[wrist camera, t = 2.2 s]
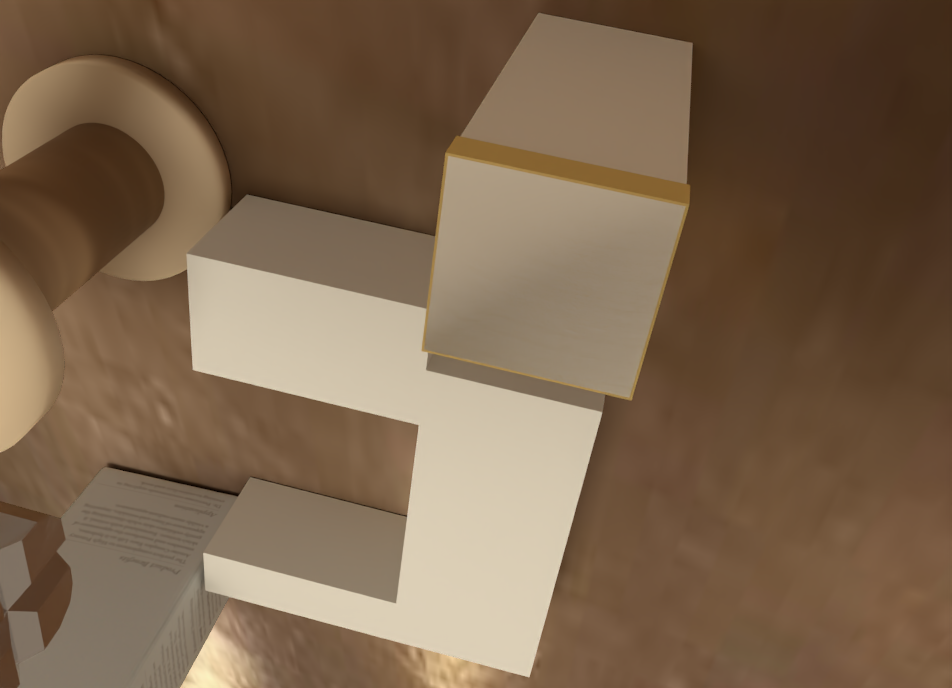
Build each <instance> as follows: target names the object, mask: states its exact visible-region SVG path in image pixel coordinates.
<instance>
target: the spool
mask: <svg viewBox="0 0 952 688" xmlns="http://www.w3.org/2000/svg"><path fill="white" fill-rule="evenodd" d="M2 147H3V156H4V160H5V165H6V167H5V168H3V169H1V170H0V452H2V451H4V450H6V449H8V448H10V447H12V446H13V445H14V444H15V443H17V442H18V441H19V440H20V439H21V438H22V437H23V436H24V435H25V434H26V433H27V432H28V431H29V430H30V429H31V428H32V427H33V426H34V425H35V424H36V423H37V422H38V421H39V420H40V419H41V418H42V417H43V416H44V415H45V414H46V413H47V412H48V411H49V410H50V408H51V407H52V406H53V404H54V403H55V401H56V399H57V397H58V395H59V393H60V391H61V387H62V383H63V379H64V368H65V361H64V348H63V344H62V340H61V335H60V331H59V328H58V326H57V323H56V320H55V317H54V314H53V312H52V311H53V310H55V309H56V308H57V307H58V306H59V305H60V304H61V303H63V302H64V301H65V300H66V299H67V298H68V297H70V296H71V295H72V294H73V293H74V292H75V291H77V290H78V289H79V288H80V287H81V286H82V285H83V284H85V283H86V282H87V281H88V280H89V279H90V278H92V277H93V276H94V275H95V274H96V273H97V272H99V271H100V272H102V273H105V274H107V275H111V276H114V277H118V278H122V279H127V280H134V281H153V280H160V279H165V278H169V277H172V276H174V275H177V274H179V273H181V272H183V271H184V270H186V269H187V256H186V253H187V252H188V251H189V250H190V249H191V248H192V247H193V246H194V245H196V244H197V243H198V242H199V241H200V240H201V239H202V238H203V237H204V236H205V235H206V234H207V233H208V232H209V231H210V230H211V229H212V228H213V227H214V226H215V225H216V224H217V223H218V222H219V221H220V220H221V219H222V218H223V217H224V216H225V215H226V214H227V213H228V212H229V211H230V207H231V194H232V190H231V178H230V173H229V169H228V164H227V161H226V158H225V155H224V152H223V149H222V147H221V145H220V143H219V141H218V139H217V136H216V134H215V133H214V131H213V129H212V128H211V126H210V125H209V123H208V121H207V120H206V119H205V117H204V116H203V115H202V113H201V112H200V111H199V109H198V108H197V107H196V106H195V105H194V104H193V103H192V102H191V101H190V99H189V98H188V97H187V96H186V95H185V94H184V93H182V92H181V91H180V90H179V89H178V88H177V87H175V86H174V85H173V84H172V83H170V82H169V81H168V80H166V79H165V78H163V77H162V76H160V75H159V74H157V73H155V72H153V71H152V70H150V69H148V68H146V67H144V66H142V65H139V64H137V63H134V62H132V61H129V60H126V59H122V58H118V57H114V56H106V55H83V56H77V57H73V58H70V59H67V60H64V61H61V62H59V63H57V64H55V65H53V66H51V67H49V68H47V69H45V70H43V71H41V72H39V73H37V74H36V75H34V76H32V77H31V78H29V79H28V80H27V81H26V82H25V83H23V84H22V85H21V87H20V88H19V89H18V90H17V91H16V93H15V94H14V96H13V97H12V99H11V101H10V103H9V105H8V108H7V111H6V113H5V116H4V122H3V128H2Z"/></svg>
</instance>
